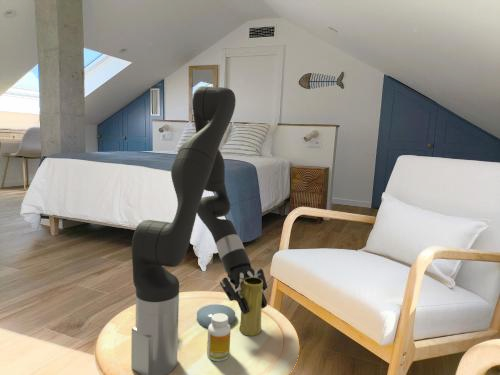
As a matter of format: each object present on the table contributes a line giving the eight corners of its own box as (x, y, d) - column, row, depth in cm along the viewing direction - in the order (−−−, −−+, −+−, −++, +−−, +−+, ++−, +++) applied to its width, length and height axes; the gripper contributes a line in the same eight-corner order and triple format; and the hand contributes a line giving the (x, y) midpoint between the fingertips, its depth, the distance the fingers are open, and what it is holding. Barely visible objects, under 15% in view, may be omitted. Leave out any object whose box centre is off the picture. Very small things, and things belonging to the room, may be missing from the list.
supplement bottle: (233, 357, 84) (235, 319, 82) (213, 364, 81) (214, 325, 79) (222, 345, 88) (224, 309, 87) (203, 351, 85) (204, 314, 84)
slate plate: (216, 333, 93) (217, 328, 93) (188, 318, 100) (188, 313, 100) (242, 317, 102) (242, 313, 102) (215, 305, 109) (215, 300, 108)
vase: (262, 325, 99) (265, 277, 97) (260, 337, 93) (263, 286, 91) (240, 322, 99) (243, 275, 97) (237, 334, 93) (240, 284, 91)
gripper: (216, 251, 95) (240, 312, 87) (258, 244, 103) (283, 298, 96) (206, 264, 99) (227, 322, 92) (246, 255, 108) (269, 308, 101)
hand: (255, 309), depth 94 cm, fingers closed on vase, 5 cm apart
